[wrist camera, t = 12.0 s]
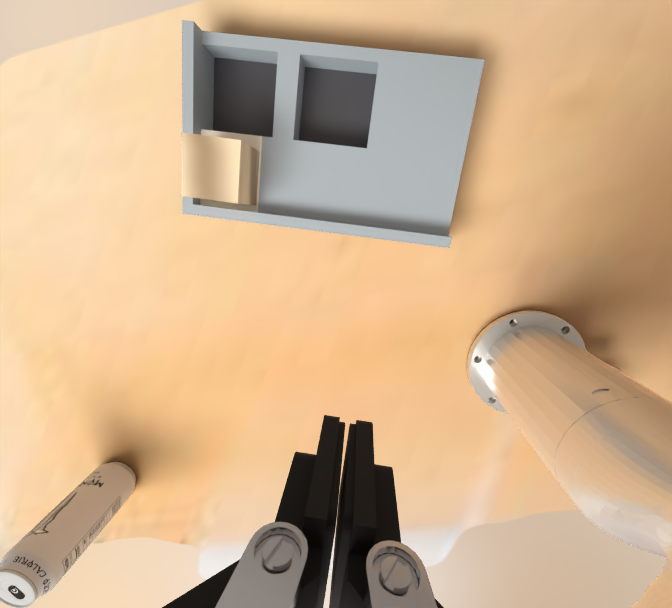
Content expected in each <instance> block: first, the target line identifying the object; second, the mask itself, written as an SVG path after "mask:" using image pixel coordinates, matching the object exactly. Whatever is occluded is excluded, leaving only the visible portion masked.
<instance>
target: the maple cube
mask: <svg viewBox="0 0 672 608" xmlns="http://www.w3.org/2000/svg"><path fill="white" fill-rule="evenodd" d="M259 155H260V151H258V150H256V149H255V148H253V147H251V146H250V145H248V144H247V143H245V142H243V141H242V140H237V139H229V138H221V137H214V136H206V135H198V134H191V133H183V132H182V150H181V196H186V197H193V198H201V199H208V200H215V201H222V202H229V203H237V204H246V205H256V201H257V185H258V170H259Z"/></svg>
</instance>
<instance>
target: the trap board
mask: <svg viewBox="0 0 672 608" xmlns="http://www.w3.org/2000/svg"><path fill="white" fill-rule="evenodd" d="M484 61H485V59H475V58H465V57H455V56H445V55H435V54H426V53H416V52H406V51H396V50H386V49H376V48H366V47H356V46H346V45H337V44H327V43H317V42H307V41H297V40H287V39H277V38H267V37H258V36H248V35H238V34H228V33H218V32H208V31H202V30H201V29H200V28H199V27H198V26H197V25H196V24H195V22H194V21H185V20H182V127H183V133H191V134H198V135H206V136H214V137H221V138H229V139H237V140H242V141H243V142H245V143H247V144H248V145H250V146H251V147H253V148H255V149H256V150H258V151H260V155H259V170H258V185H257V201H256V205H246V204H237V203H229V202H222V201H215V200H208V199H201V198H193V197H186V196H183V214H189V215H197V216H204V217H212V218H220V219H228V220H236V221H243V222H251V223H259V224H267V225H274V226H282V227H290V228H298V229H306V230H313V231H321V232H329V233H337V234H344V235H352V236H360V237H368V238H375V239H383V240H391V241H399V242H407V243H414V244H422V245H430V246H438V247H445V248H450V244H451V239H452V237H448V234H449V229H450V224H451V219H452V214H453V210H454V205H455V200H456V195H457V190H458V186H459V181H460V176H461V171H462V166H463V162H464V157H465V152H466V147H467V142H468V138H469V133H470V128H471V123H472V118H473V114H474V109H475V104H476V99H477V94H478V89H479V85H480V80H481V75H482V70H483V65H484Z"/></svg>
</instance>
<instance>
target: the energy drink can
mask: <svg viewBox="0 0 672 608" xmlns="http://www.w3.org/2000/svg"><path fill="white" fill-rule="evenodd" d="M135 482H136V477H135V474H134V472H133V470H132V469H131V468H130V467H129V466H127V465H126V464H124V463H121V462H110V463H106V464H102V465H100V466H99V467H98V468H97V469H96V470H94V471H93V472H92V473H91V474H90V475H89V476H88V477H87V478H86V479H85V480H84V481H83V482H82V483H81V484H80V485H79V486H78V487H76V488H75V489H74V490H73V491H72V492H71V493H70V494H69V495H68V496H67V497H66V498H65V499H64V500H63V501H62V502H61V503H60V504H58V505H57V506H56V507H55V508H54V509H53V510H52V511H51V512H50V513H49V514H48V515H47V516H46V517H45V518H44V519H43V520H42V521H40V522H39V523H38V524H37V525H36V526H35V527H34V528H33V529H32V530H31V531H30V532H29V533H28V534H27V535H26V536H25V537H24V538H22V539H21V540H20V541H19V542H18V543H17V544H16V545H15V546H14V547H13V548H12V549H11V550H10V551H9V552H8V553H7V554H6V555H5V556H4V557H3V559H2V561H1V563H0V601H1V602H3V603H5V604H7V605H9V606H12V607H17V608H24V607H28V606H30V605H31V604H33V602H34V601H35V600H36V599H37V598H39V597H40V596H42V595H44V594H46V593H47V592H49V591H50V590H52V589H53V588H54V587H55V585H56V584H57V583H58V582H59V581H60V579H61V578H62V577H63V576H64V574H65V573H66V572H67V571H68V570H69V569H70V567H71V566H72V565H73V564H74V563H75V561H76V560H77V559H78V558H79V557H80V555H81V554H82V553H83V552H84V551H85V549H86V548H87V547H88V546H89V545H90V543H91V542H92V541H93V540H94V539H95V537H96V536H97V535H98V534H99V533H100V531H101V530H102V529H103V528H104V527H105V525H106V524H107V523H108V522H109V521H110V520H111V518H112V517H113V516H114V515H115V514H116V512H117V511H118V510H119V509H120V508H121V506H122V505H123V504H124V503H125V502H126V500H127V499H128V498H129V497H130V496H131V494H132V493H133V492H134V489H135Z"/></svg>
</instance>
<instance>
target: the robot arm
mask: <svg viewBox="0 0 672 608" xmlns="http://www.w3.org/2000/svg"><path fill="white" fill-rule="evenodd" d="M511 320H512V322H510V321H511ZM509 322H510V323H509ZM476 356H477V357H476ZM475 357H476V358H475ZM467 373H468V378H469V380H470V383H471V386H472V387H473V389H474V391H475V392H476V394H477V395H478V396H479V397H480V399H481V400H482V401H483V402H484V403H486V404H487V405H488V406H490V407H492V408H493V409H495V410H497V411H500V412H503V413H506V414H509V416H510V417H511V418H512V420H513V421H514V422H515V424H516V425H517V427H518V428H519V429H520V431H521V432H522V433H523V435H524V436H525V437H526V439H527V440H528V442H529V443H530V444H531V446H532V447H533V448H534V450H535V451H536V453H537V454H538V455H539V457H540V458H541V459H542V461H543V462H544V464H545V465H546V466H547V468H548V469H549V470H550V472H551V473H552V474H553V476H554V477H555V479H556V480H557V481H558V483H559V484H560V485H561V487H562V488H563V490H564V491H565V493H566V494H567V495H568V497H569V498H570V499H571V501H572V502H573V503H574V504H575V506H576V507H577V508H578V509H579V510H580V512H582V513H583V515H584V516H585V517H586V518H587V519H589V520H590V521H591V522H592V523H593V524H595V525H596V526H597V527H599V528H600V529H601V530H603V531H604V532H605V533H607V534H609V535H611V536H612V537H615V538H616V539H618V540H620V541H622V542H625V543H627V544H629V545H632V546H634V547H637V548H640V549H642V550H645V551H648V552H651V553H654V554H658V555H661V556H664V557H667V559H666V565H665V567H664V569H663V571H662V572H661V573H660V575H659V576H658V577H657V578H656V579H655V580H654V582H653V583H652V584H651V585H650V586H649V587H648V588H647V589H646V591H645V594H644V595H643V596H642V597H641V598H640V599H639V600H638V601H637V602H636V603H635V604H634V605H633V606H632V607H631V608H672V403H671V402H670V401H668V400H666V399H665V398H663V397H661V396H660V395H658V394H656V393H655V392H653V391H652V390H650V389H648V388H647V387H645V386H643V385H642V384H640V383H638V382H637V381H635V380H633V379H632V378H630V377H628V376H627V375H625V374H624V373H622V372H621V370H620V369H619V368H615V367H612V366H610V365H609V364H607V363H605V362H604V361H602V360H600V359H599V358H597V357H595V356H594V355H592V354H591V353H589V352H587V351H586V347H585V343H584V341H583V339H582V337H581V336H580V334H579V333H578V332H577V330H576V329H575V328H574V327H573V326H572V325H570V324H569V323H568V322H566V321H565V320H563V319H561V318H559V317H557V316H556V315H553V314H550V313H547V312H542V311H535V310H529V311H519V312H514V313H510V314H508V315H505V316H503V317H500V318H498V319H497V320H495V321H494V322H492V323H490V324H489V325H488V326H487V327H486V328H485V329H483V330H482V331H481V333H480V334H479V335H478V336H477V338H476V339H475V341H474V342H473V344H472V346H471V348H470V351H469V355H468V359H467ZM339 419H340V417H333V416H327V415H324V420H323V425H322V430H321V435H320V440H319V445H318V450H317V455H313V454H307V453H301V452H295V455H294V458H293V461H292V465H291V468H290V472H289V475H288V478H287V482H286V485H285V489H284V492H283V496H282V499H281V503H280V506H279V509H278V513H277V516H276V520H275V522H273V523H270V524H267V525H265V526H263V527H262V528H260V529H259V530H258V531H257V532H256V533H255V534H254V535H253V537H252V538H251V540H250V542H249V544H248V545H247V547H246V549H245V551H244V553H243V555H242V557H241V559H240V560H238V561H237V562H235V563H233V564H232V565H230V566H229V567H227V568H225V569H224V570H222V571H220V572H219V573H217V574H216V575H214V576H212V577H211V578H209V579H208V580H206V581H205V582H203V583H201V584H199V585H198V586H196V587H195V588H193V589H191V590H190V591H188V592H187V593H185V594H184V595H182V596H180V597H179V598H177V599H175V600H174V601H172V602H170V603H169V604H167V605H166V606H164V607H162V608H323V604H324V598H325V591H326V584H327V578H328V572H329V565H330V559H331V552H332V546H333V539H334V533H335V526H336V518H337V526H336V537H335V548H334V560H333V571H332V582H331V594H330V605H329V608H443V607H442V606H441V604H440V603H438V601H437V600H436V599H435V598H434V595H433V592H432V588H431V586H430V582H429V579H428V576H427V572H426V570H425V567H424V565H423V563H422V561H421V559H420V558H419V557H418V556H417V554H416V553H415V552H414V551H413V550H411V549H410V548H409V547H408V546H406V545H404V544H402V543H401V538H400V529H399V521H398V512H397V503H396V494H395V485H394V477H393V470H392V467H387V466H381V465H375V464H374V447H373V424H372V422H366V421H359V420H357V421H356V424H350V427H349V433H348V440H347V446H346V453H345V459H344V466H343V472H342V479H341V486H340V475H341V464H342V453H343V442H344V431H345V423H344V422H339ZM339 486H340V493H339ZM338 497H339V503H338ZM337 508H338V515H337Z"/></svg>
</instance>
